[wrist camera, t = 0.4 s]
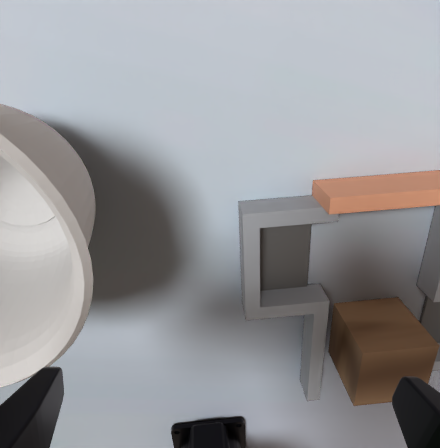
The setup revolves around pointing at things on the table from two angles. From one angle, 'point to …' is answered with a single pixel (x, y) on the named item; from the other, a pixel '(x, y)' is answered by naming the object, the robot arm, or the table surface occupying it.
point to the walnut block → (378, 348)
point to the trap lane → (300, 245)
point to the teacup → (41, 245)
